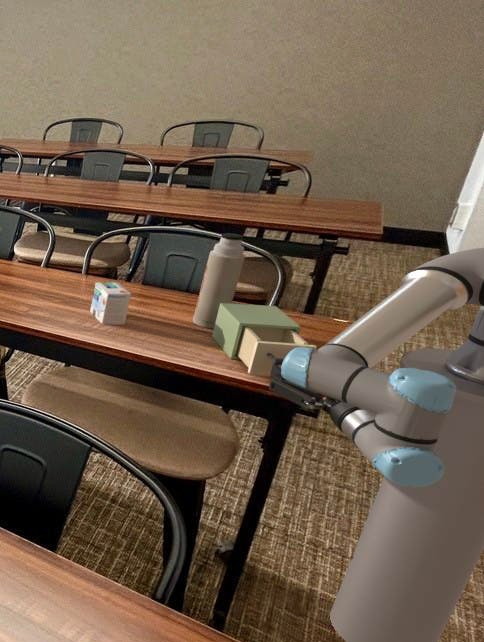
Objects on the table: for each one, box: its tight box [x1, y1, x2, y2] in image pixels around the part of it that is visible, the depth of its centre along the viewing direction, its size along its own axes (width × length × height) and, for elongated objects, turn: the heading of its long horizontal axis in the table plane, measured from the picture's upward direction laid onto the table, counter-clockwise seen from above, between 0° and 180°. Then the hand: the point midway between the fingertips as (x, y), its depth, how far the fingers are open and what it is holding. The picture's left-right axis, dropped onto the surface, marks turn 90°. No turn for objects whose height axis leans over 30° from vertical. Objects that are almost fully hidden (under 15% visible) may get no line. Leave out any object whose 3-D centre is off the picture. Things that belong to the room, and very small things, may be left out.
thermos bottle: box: [192, 232, 246, 330], centre depth 169 cm, size 8×8×28 cm
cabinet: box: [211, 303, 302, 361], centre depth 156 cm, size 15×13×11 cm
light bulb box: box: [89, 281, 132, 326], centre depth 181 cm, size 11×7×11 cm, turn 169°
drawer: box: [236, 326, 318, 377], centre depth 145 cm, size 18×11×9 cm, turn 159°
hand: (311, 372), depth 129 cm, fingers open, 13 cm apart
